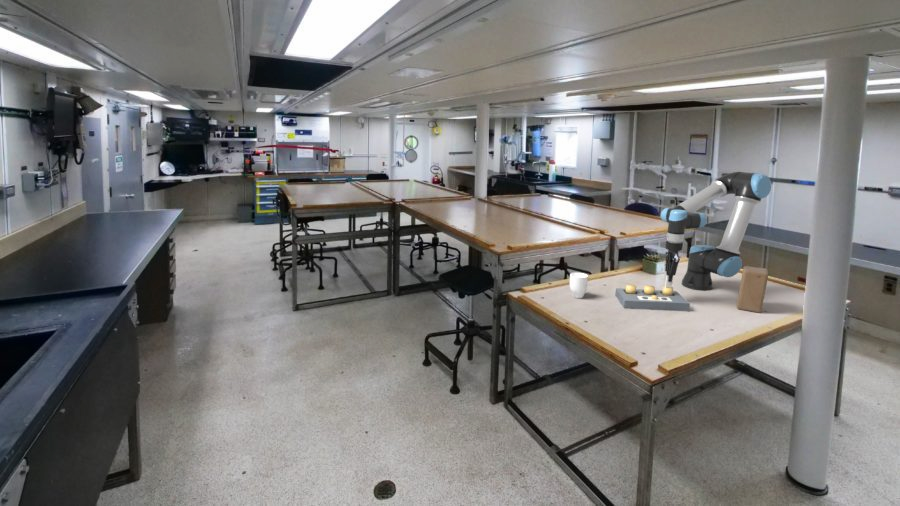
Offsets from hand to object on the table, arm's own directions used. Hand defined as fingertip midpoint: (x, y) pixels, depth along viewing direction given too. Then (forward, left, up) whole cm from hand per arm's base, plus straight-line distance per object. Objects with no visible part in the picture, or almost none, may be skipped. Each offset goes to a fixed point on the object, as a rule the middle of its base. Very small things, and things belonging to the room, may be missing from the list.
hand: (668, 287), depth 234 cm
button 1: (+18, 0, -5) cm, 19 cm away
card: (+9, +9, -4) cm, 13 cm away
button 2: (0, 0, -5) cm, 5 cm away
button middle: (+9, 0, -5) cm, 10 cm away
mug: (+44, -2, -8) cm, 45 cm away
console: (+9, +4, -8) cm, 12 cm away
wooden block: (-37, +5, -8) cm, 38 cm away
